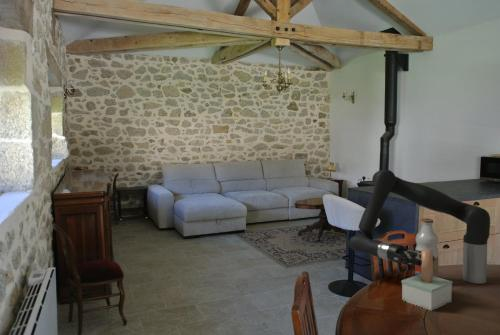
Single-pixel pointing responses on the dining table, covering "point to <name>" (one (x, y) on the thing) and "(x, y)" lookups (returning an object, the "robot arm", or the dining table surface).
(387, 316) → the dining table surface
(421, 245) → the fruit juice
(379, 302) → the dining table surface
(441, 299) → the box
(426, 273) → the peg on square base
